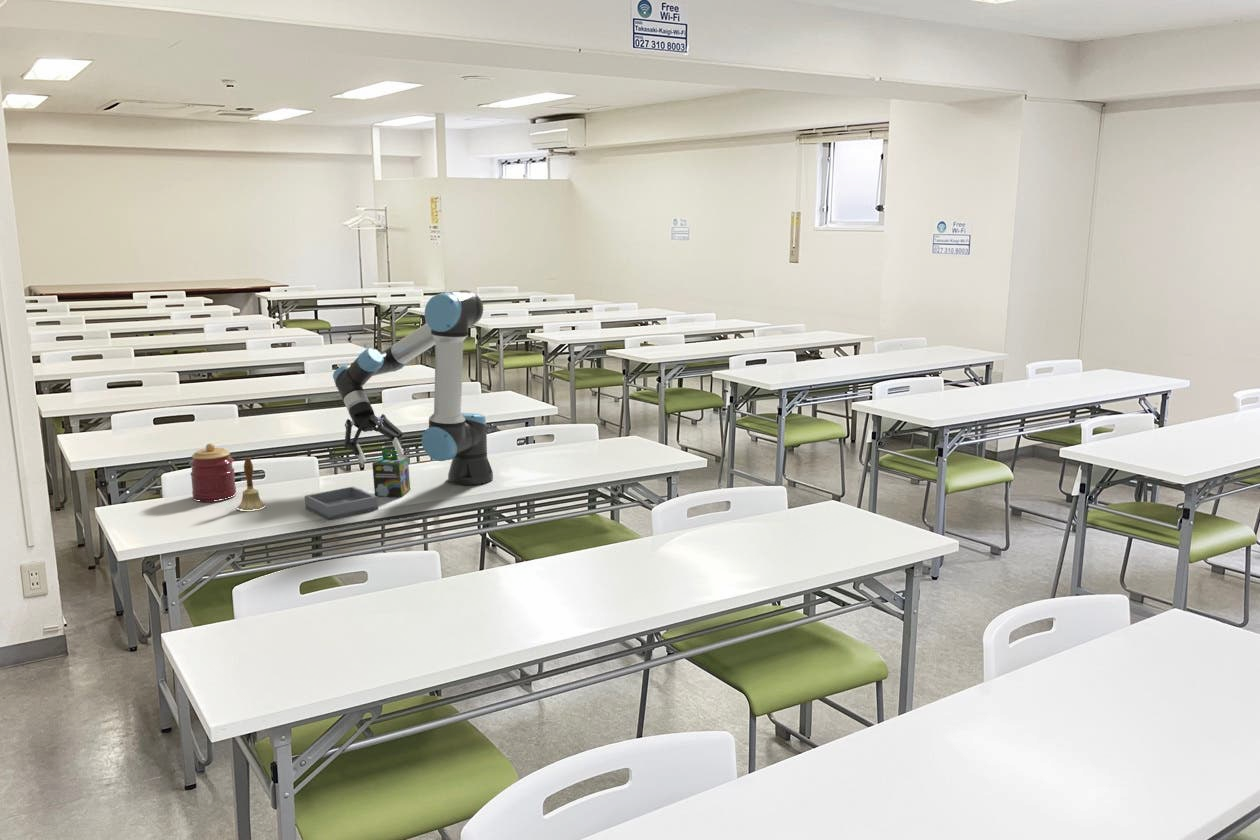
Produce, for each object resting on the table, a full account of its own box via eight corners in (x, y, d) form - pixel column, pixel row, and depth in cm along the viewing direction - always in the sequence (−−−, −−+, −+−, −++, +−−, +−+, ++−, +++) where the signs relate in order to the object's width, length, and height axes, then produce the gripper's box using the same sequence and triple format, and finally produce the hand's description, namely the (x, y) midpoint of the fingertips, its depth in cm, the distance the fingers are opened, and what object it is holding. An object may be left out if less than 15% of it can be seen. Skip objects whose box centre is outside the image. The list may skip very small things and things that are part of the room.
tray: (353, 498, 308) (353, 486, 307) (378, 509, 297) (377, 496, 296) (305, 508, 298) (304, 495, 297) (328, 519, 286) (327, 506, 285)
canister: (224, 503, 304) (220, 448, 300) (184, 502, 304) (179, 448, 301) (243, 492, 316) (239, 439, 313) (205, 491, 317) (200, 438, 314)
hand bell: (271, 506, 301) (267, 456, 297) (251, 513, 293) (246, 462, 290) (251, 503, 304) (247, 453, 301) (231, 509, 297) (226, 459, 293)
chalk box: (410, 490, 318) (408, 446, 315) (401, 497, 309) (399, 452, 306) (383, 489, 319) (381, 445, 316) (373, 497, 310) (371, 452, 307)
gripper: (389, 409, 333) (413, 459, 325) (320, 419, 316) (344, 472, 309) (396, 396, 328) (421, 446, 320) (326, 405, 311) (350, 458, 304)
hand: (383, 459), depth 314 cm, fingers open, 13 cm apart
